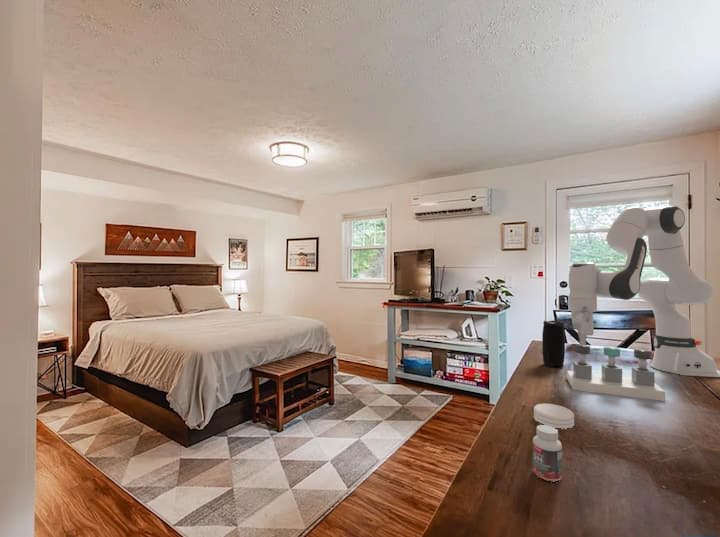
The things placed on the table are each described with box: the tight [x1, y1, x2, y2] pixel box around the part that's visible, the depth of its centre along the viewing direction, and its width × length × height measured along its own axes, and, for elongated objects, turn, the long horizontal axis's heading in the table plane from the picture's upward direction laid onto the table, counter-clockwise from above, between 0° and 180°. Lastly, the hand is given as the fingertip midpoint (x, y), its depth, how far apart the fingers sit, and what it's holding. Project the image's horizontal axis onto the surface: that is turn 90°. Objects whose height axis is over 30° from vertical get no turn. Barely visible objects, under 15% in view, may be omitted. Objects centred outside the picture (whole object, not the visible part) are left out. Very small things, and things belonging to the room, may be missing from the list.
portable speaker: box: [541, 319, 566, 368], centre depth 155 cm, size 9×9×20 cm
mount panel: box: [566, 360, 666, 402], centre depth 126 cm, size 26×14×8 cm, turn 67°
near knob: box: [633, 348, 653, 370], centre depth 122 cm, size 5×5×6 cm
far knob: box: [574, 344, 591, 364], centre depth 129 cm, size 5×5×6 cm
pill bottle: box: [532, 424, 563, 481], centre depth 73 cm, size 5×5×10 cm
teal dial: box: [603, 346, 621, 367], centre depth 126 cm, size 5×5×7 cm
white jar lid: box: [533, 403, 575, 430], centre depth 99 cm, size 10×10×4 cm
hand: (582, 343), depth 129 cm, fingers closed
